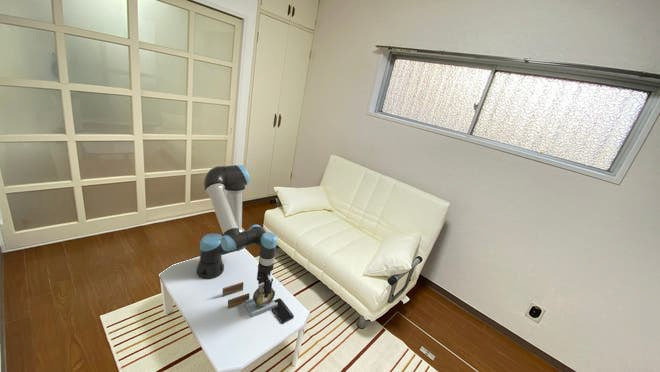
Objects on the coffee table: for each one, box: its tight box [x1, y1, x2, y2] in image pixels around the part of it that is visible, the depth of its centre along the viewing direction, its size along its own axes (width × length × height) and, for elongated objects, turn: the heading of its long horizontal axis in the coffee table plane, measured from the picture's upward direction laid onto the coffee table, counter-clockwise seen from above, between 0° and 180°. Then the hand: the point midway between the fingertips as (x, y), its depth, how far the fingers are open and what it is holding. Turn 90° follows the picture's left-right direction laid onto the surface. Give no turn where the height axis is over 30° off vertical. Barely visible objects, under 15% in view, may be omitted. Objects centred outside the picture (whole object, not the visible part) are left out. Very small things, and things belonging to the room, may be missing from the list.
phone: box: [270, 297, 295, 324], centre depth 142 cm, size 8×1×15 cm
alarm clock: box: [252, 282, 276, 308], centre depth 140 cm, size 11×5×16 cm, turn 128°
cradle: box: [244, 297, 278, 318], centre depth 143 cm, size 10×14×2 cm, turn 128°
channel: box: [221, 281, 251, 310], centre depth 144 cm, size 10×11×5 cm
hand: (262, 297), depth 141 cm, fingers closed on alarm clock, 5 cm apart
